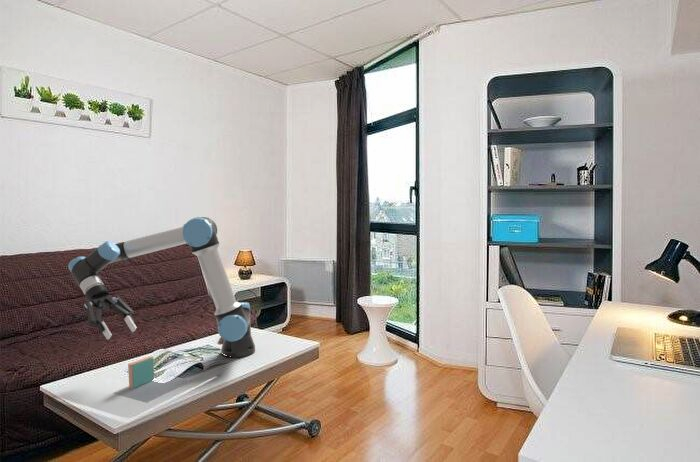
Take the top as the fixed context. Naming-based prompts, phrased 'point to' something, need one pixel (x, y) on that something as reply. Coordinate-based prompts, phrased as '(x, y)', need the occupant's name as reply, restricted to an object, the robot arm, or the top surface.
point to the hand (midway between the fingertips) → (122, 333)
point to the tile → (140, 372)
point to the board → (151, 389)
